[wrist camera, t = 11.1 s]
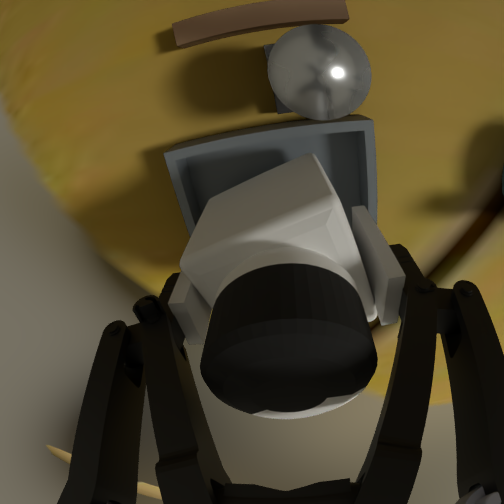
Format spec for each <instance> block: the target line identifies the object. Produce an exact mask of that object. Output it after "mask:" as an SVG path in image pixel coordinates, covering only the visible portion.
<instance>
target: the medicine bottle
mask: <svg viewBox="0 0 504 504" xmlns="http://www.w3.org/2000/svg"><path fill="white" fill-rule="evenodd" d="M180 268H181V270H182V271H183V272H184V274H185V275H186V276H187V278H188V279H189V280H190V281H191V283H192V284H193V285H194V287H195V288H196V289H197V290H198V292H199V293H200V294H201V295H202V297H203V298H204V299H205V300H206V302H207V303H208V304H209V305H210V307H211V308H212V309H213V310H212V314H211V318H210V323H209V327H208V331H207V336H206V340H205V345H204V349H203V353H202V358H201V363H200V370H201V375H202V377H203V379H204V381H205V383H206V384H207V386H208V387H209V389H210V390H211V392H212V393H213V394H214V395H215V396H216V397H217V398H218V399H220V400H221V401H222V402H224V403H226V404H227V405H229V406H231V407H233V408H236V409H238V410H240V411H243V412H246V413H249V414H253V415H256V416H260V417H266V418H273V419H274V418H275V419H297V418H304V417H310V416H314V415H318V414H322V413H325V412H327V411H330V410H332V409H335V408H337V407H339V406H342V405H344V404H345V403H347V402H349V401H351V400H352V399H353V398H355V397H356V396H357V395H359V394H360V393H361V392H362V391H363V390H364V389H365V387H366V386H367V385H368V383H369V381H370V380H371V378H372V376H373V375H374V373H375V370H376V367H377V361H378V358H377V352H376V349H375V345H374V341H373V338H372V334H371V330H370V327H369V324H368V322H370V321H373V320H374V319H375V318H376V317H377V310H376V307H375V303H374V298H373V295H372V291H371V288H370V285H369V281H368V278H367V275H366V272H365V269H364V266H363V263H362V260H361V257H360V254H359V251H358V248H357V245H356V242H355V239H354V236H353V234H352V231H351V228H350V225H349V223H348V220H347V217H346V215H345V212H344V209H343V207H342V204H341V202H340V199H339V197H338V196H337V194H336V192H335V190H334V188H333V186H332V184H331V182H330V180H329V179H328V177H327V175H326V173H325V171H324V169H323V168H322V166H321V164H320V162H319V161H318V159H317V157H316V156H315V154H313V153H307V154H305V155H302V156H300V157H298V158H295V159H293V160H291V161H289V162H286V163H284V164H282V165H280V166H277V167H275V168H273V169H271V170H268V171H266V172H264V173H262V174H260V175H258V176H255V177H253V178H251V179H249V180H247V181H245V182H243V183H241V184H239V185H237V186H234V187H232V188H230V189H228V190H226V191H224V192H222V193H220V194H218V195H216V196H214V197H212V198H210V199H209V201H208V203H207V205H206V207H205V209H204V211H203V213H202V215H201V217H200V219H199V221H198V223H197V225H196V227H195V229H194V231H193V233H192V235H191V238H190V240H189V242H188V244H187V246H186V248H185V250H184V253H183V255H182V257H181V259H180Z"/></svg>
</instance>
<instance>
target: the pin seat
mask: <svg viewBox="0 0 504 504" xmlns="http://www.w3.org/2000/svg"><path fill="white" fill-rule="evenodd" d="M348 20H349V15H348V11H347V7H346V3H345V0H273V1H265V2H259V3H252V4H247V5H241V6H236V7H232V8H227V9H222V10H218V11H214V12H210V13H206V14H203V15H199V16H195V17H192V18H189V19H185V20H182V21H179V22H176V23H173V24H172V27H173V31H174V35H175V40H176V44H177V46H178V47H181V48H188V47H191V46H194V45H198V44H202V43H205V42H209V41H213V40H217V39H221V38H226V37H230V36H235V35H240V34H245V33H250V32H256V31H262V30H269V29H276V28H284V27H293V26H303V25H309V24H344V23H345V22H346V21H348Z"/></svg>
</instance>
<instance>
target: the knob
mask: <svg viewBox="0 0 504 504" xmlns="http://www.w3.org/2000/svg"><path fill="white" fill-rule="evenodd" d="M264 50H265V54H266V59H267V63H268V78H269V81H270V84H271V87H272V89H273V92H274V97H275V102H276V107H277V113H278V114H282V113H289V112H295V113H297V114H299V115H301V116H303V117H306V118H309V119H314V120H333V119H338V118H341V117H344V116H346V115H348V114H350V113H351V112H353V111H354V110H356V109H357V108H358V107H359V106H360V105H361V104H362V102H363V101H364V100H365V98H366V96H367V94H368V92H369V89H370V85H371V68H370V63H369V61H368V58H367V56H366V54H365V52H364V50H363V49H362V47H361V46H360V45H359V44H358V43H357V42H356V40H354V39H353V38H352V37H351V36H350V35H348V34H347V33H345V32H343V31H341V30H339V29H337V28H334V27H332V26H327V25H321V24H309V25H303V26H299V27H296V28H294V29H292V30H290V31H288V32H287V33H285V34H284V35H283V36H282V37H281V38H280V39H279V40H278V41H277V42H276V43H275V44H270V45H264Z"/></svg>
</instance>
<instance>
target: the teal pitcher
mask: <svg viewBox="0 0 504 504" xmlns="http://www.w3.org/2000/svg"><path fill="white" fill-rule="evenodd" d="M502 193H503V196H504V166H503V172H502Z"/></svg>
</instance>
